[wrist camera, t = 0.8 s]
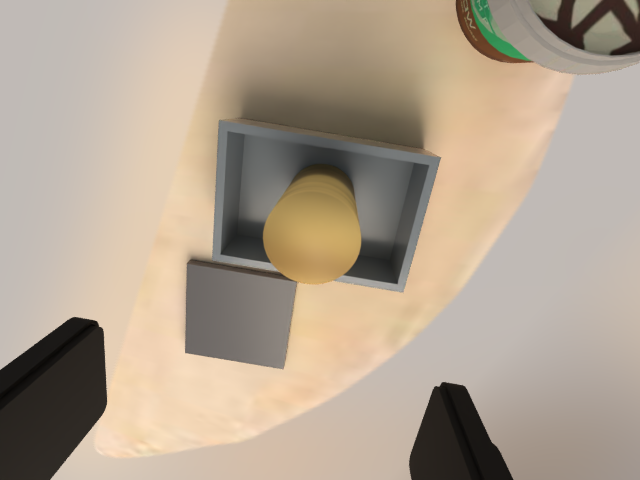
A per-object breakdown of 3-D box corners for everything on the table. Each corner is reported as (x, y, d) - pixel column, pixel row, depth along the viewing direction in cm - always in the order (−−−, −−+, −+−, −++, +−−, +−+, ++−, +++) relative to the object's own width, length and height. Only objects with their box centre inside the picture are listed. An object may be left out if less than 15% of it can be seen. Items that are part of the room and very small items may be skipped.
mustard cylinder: (292, 158, 28) (268, 184, 18) (360, 169, 28) (370, 201, 18) (284, 223, 30) (258, 275, 20) (348, 233, 30) (351, 291, 20)
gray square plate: (190, 260, 32) (186, 263, 31) (297, 277, 32) (296, 282, 31) (188, 347, 36) (185, 352, 35) (284, 363, 36) (283, 369, 35)
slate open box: (239, 118, 27) (219, 120, 23) (423, 148, 27) (440, 157, 23) (231, 237, 31) (212, 260, 26) (394, 264, 31) (403, 292, 26)
